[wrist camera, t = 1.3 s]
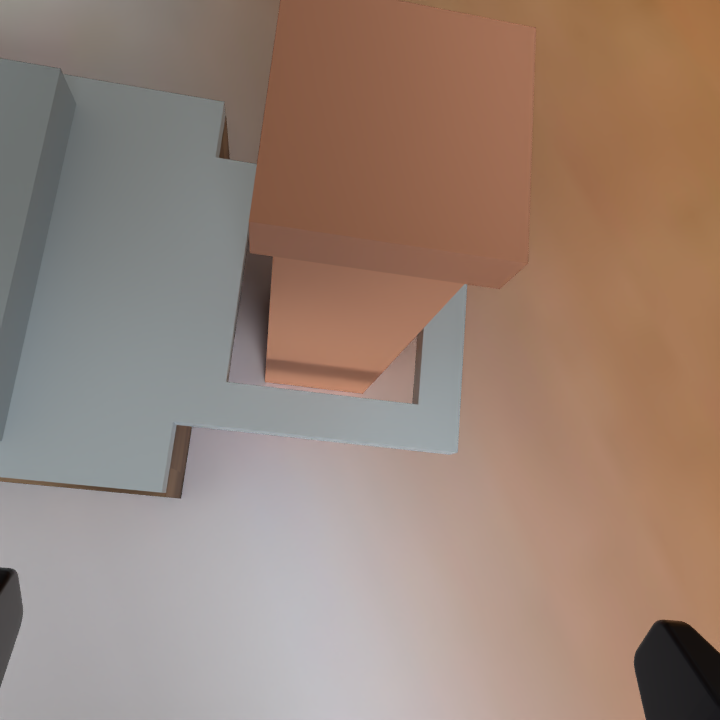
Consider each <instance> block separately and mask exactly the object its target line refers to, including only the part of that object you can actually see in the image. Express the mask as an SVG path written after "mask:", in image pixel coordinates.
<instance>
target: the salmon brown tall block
mask: <svg viewBox="0 0 720 720" xmlns="http://www.w3.org/2000/svg"><path fill="white" fill-rule="evenodd" d="M535 42H536V28H535V27H530V26H525V25H520V24H515V23H510V22H505V21H500V20H495V19H490V18H485V17H480V16H475V15H470V14H465V13H460V12H455V11H450V10H445V9H440V8H435V7H430V6H425V5H420V4H415V3H410V2H405V1H400V0H280V6H279V13H278V20H277V27H276V34H275V41H274V48H273V55H272V62H271V69H270V76H269V83H268V90H267V97H266V104H265V111H264V118H263V125H262V132H261V139H260V146H259V153H258V160H257V167H256V174H255V181H254V188H253V195H252V202H251V209H250V216H249V247H250V253H253V254H259V255H266V256H273V262H272V278H271V294H270V310H269V326H268V342H267V358H266V373H265V382H269V383H278V384H286V385H295V386H303V387H311V388H320V389H328V390H337V391H345V392H353V393H362V394H363V393H364V392H365V391H366V390H367V388H368V387H369V386H370V385H371V384H372V383H373V382H374V381H375V380H376V379H377V378H378V377H379V376H380V374H381V373H382V372H383V371H384V370H385V369H386V368H387V367H388V366H389V365H390V364H391V363H392V362H393V360H394V359H395V358H396V357H397V356H398V355H399V354H400V353H401V352H402V351H403V350H404V349H405V348H406V347H407V345H408V344H409V343H410V342H411V341H412V340H413V339H414V338H415V337H416V336H417V335H418V334H419V333H420V331H421V330H422V329H423V328H424V327H425V326H426V325H427V324H428V323H429V322H430V321H431V320H432V319H433V317H434V316H435V315H436V314H437V313H438V312H439V311H440V310H441V309H442V308H443V307H444V306H445V305H446V304H447V302H448V301H449V300H450V299H451V298H452V297H453V296H454V295H455V294H456V293H457V292H458V291H459V290H460V288H461V287H462V286H463V285H464V284H468V285H475V286H482V287H489V288H496V289H500V288H501V287H502V286H504V285H505V284H506V283H507V282H508V281H509V280H510V279H511V278H512V277H514V276H515V275H516V274H517V273H518V272H519V271H520V270H521V269H522V268H524V267H525V266H526V265H527V264H528V251H529V221H530V191H531V161H532V132H533V102H534V72H535Z"/></svg>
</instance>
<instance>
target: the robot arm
mask: <svg viewBox="0 0 720 720" xmlns="http://www.w3.org/2000/svg"><path fill="white" fill-rule="evenodd" d="M22 616H23V605H22V598H21V591H20V585H19V578H18V574H17V572H16V571H15V570H14V569H11V568H1V567H0V687H1V684H2V680H3V677H4V674H5V671H6V668H7V665H8V662H9V659H10V656H11V653H12V650H13V647H14V644H15V641H16V638H17V635H18V632H19V629H20V626H21V622H22ZM634 668H635V673H636V678H637V682H638V687H639V691H640V695H641V700H642V704H643V709H644V713H645V718H646V720H720V653H719V652H718V651H717V650H716V649H715V648H714V647H713V646H712V645H710V644H709V643H708V642H707V641H706V640H705V639H704V638H703V637H702V636H701V635H700V634H699V633H698V632H697V631H696V630H695V629H694V628H692V627H691V626H690V625H689V624H687V623H685V622H682V621H673V620H659V621H656V622H655V623H654V624H653V626H652V627H651V629H650V630H649V632H648V633H647V635H646V636H645V638H644V639H643V641H642V643H641V644H640V646H639V647H638V649H637V651H636V653H635V657H634Z"/></svg>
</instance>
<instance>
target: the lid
mask: <svg viewBox="0 0 720 720" xmlns="http://www.w3.org/2000/svg"><path fill="white" fill-rule="evenodd" d="M224 123H225V104H224V102H222V101H216V100H211V99H205V98H199V97H193V96H187V95H182V94H176V93H170V92H164V91H158V90H153V89H147V88H141V87H135V86H129V85H124V84H118V83H112V82H106V81H101V80H95V79H89V78H83V77H77V76H72V75H66V74H63V73H62V71H61V69H60V68H54V67H49V66H43V65H37V64H31V63H26V62H20V61H14V60H8V59H2V58H0V477H3V478H14V479H24V480H35V481H45V482H56V483H66V484H77V485H87V486H98V487H108V488H119V489H129V490H139V491H150V492H160V493H166V489H167V483H168V477H169V470H170V464H171V458H172V451H173V445H174V439H175V432H176V426H177V425H182V426H192V427H201V428H210V429H219V430H228V431H238V432H247V433H256V434H265V435H274V436H283V437H293V438H302V439H311V440H320V441H329V442H339V443H348V444H357V445H366V446H375V447H385V448H394V449H403V450H412V451H421V452H431V453H440V454H449V455H450V454H454V453H457V452H458V437H459V419H460V402H461V384H462V366H463V349H464V331H465V313H466V295H467V284H464V285H463V286H462V287H461V288H460V290H459V291H458V292H457V293H456V294H455V295H454V296H453V297H452V298H451V299H450V300H449V301H448V302H447V304H446V305H445V306H444V307H443V308H442V309H441V310H440V311H439V312H438V313H437V314H436V315H435V316H434V317H433V319H432V320H431V321H430V322H429V323H428V324H427V325H426V326H425V327H424V328H423V329H422V330H421V331H420V333H419V334H418V335H417V348H416V361H415V375H414V388H413V402H412V404H409V403H401V402H392V401H384V400H376V399H367V398H359V397H350V396H342V395H333V394H325V393H316V392H308V391H299V390H291V389H282V388H274V387H266V386H257V385H249V384H240V383H232V382H228V379H229V372H230V365H231V358H232V351H233V344H234V337H235V330H236V323H237V316H238V309H239V302H240V295H241V288H242V281H243V274H244V267H245V260H246V253H247V246H248V239H249V216H250V209H251V202H252V195H253V188H254V181H255V174H256V167H257V164H254V163H248V162H241V161H235V160H229V159H223V158H219V155H220V148H221V142H222V136H223V130H224Z"/></svg>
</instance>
